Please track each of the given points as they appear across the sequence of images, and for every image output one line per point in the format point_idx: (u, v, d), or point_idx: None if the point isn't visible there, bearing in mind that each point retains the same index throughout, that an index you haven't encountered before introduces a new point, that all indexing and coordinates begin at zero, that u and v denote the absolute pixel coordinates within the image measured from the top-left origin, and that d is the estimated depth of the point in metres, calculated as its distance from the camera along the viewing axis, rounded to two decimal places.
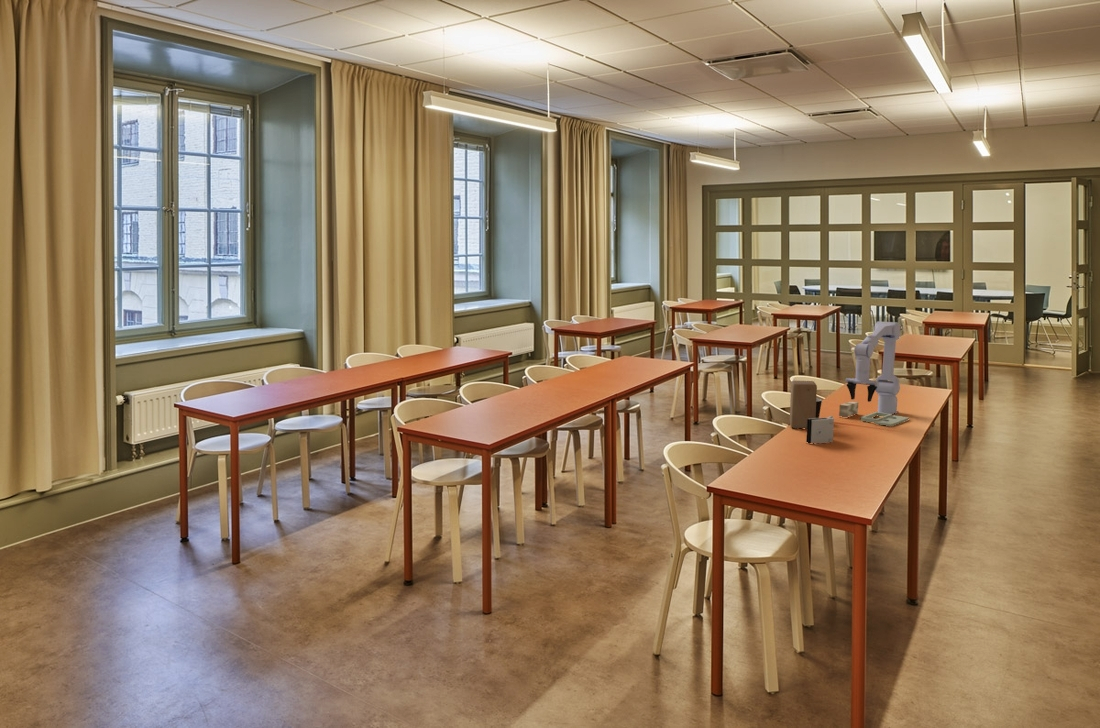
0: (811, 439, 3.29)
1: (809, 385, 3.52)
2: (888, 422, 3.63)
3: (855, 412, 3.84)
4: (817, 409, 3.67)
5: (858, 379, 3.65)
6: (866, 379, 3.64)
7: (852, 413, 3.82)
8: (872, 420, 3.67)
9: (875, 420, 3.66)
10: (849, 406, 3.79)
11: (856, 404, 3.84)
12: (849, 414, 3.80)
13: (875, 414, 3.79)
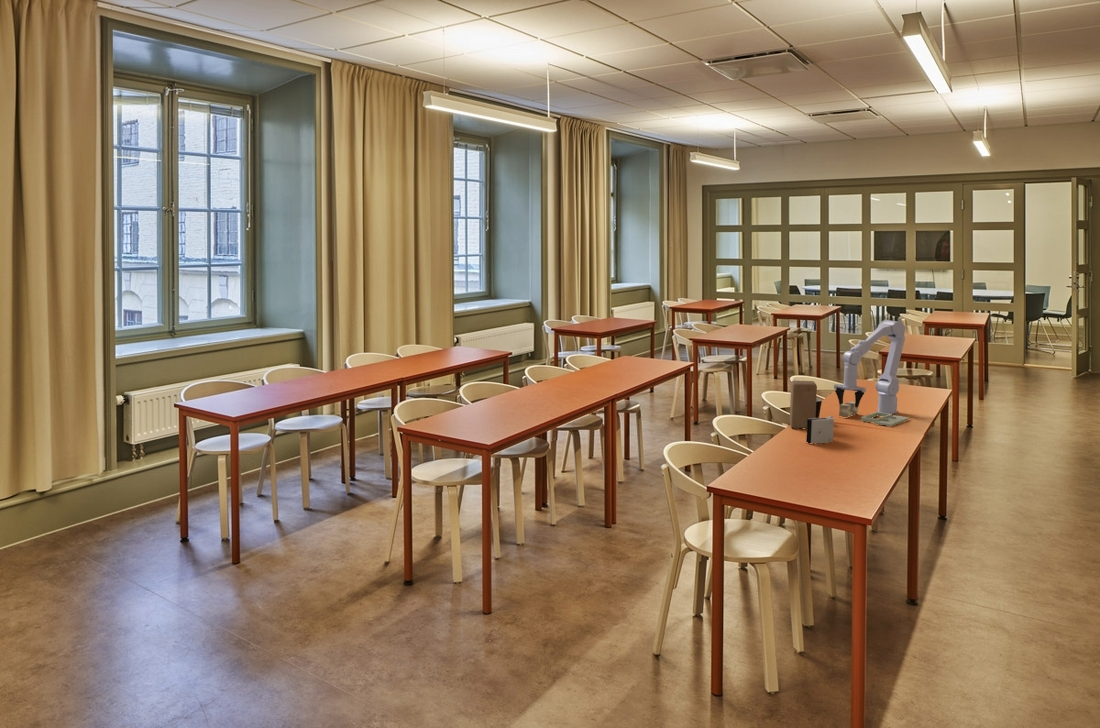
0: (811, 439, 3.29)
1: (809, 385, 3.52)
2: (888, 422, 3.63)
3: (855, 412, 3.84)
4: (817, 409, 3.67)
5: (846, 385, 3.79)
6: (854, 385, 3.78)
7: (852, 413, 3.82)
8: (872, 420, 3.67)
9: (875, 420, 3.66)
10: (849, 406, 3.79)
11: None
12: (849, 414, 3.80)
13: (875, 414, 3.79)
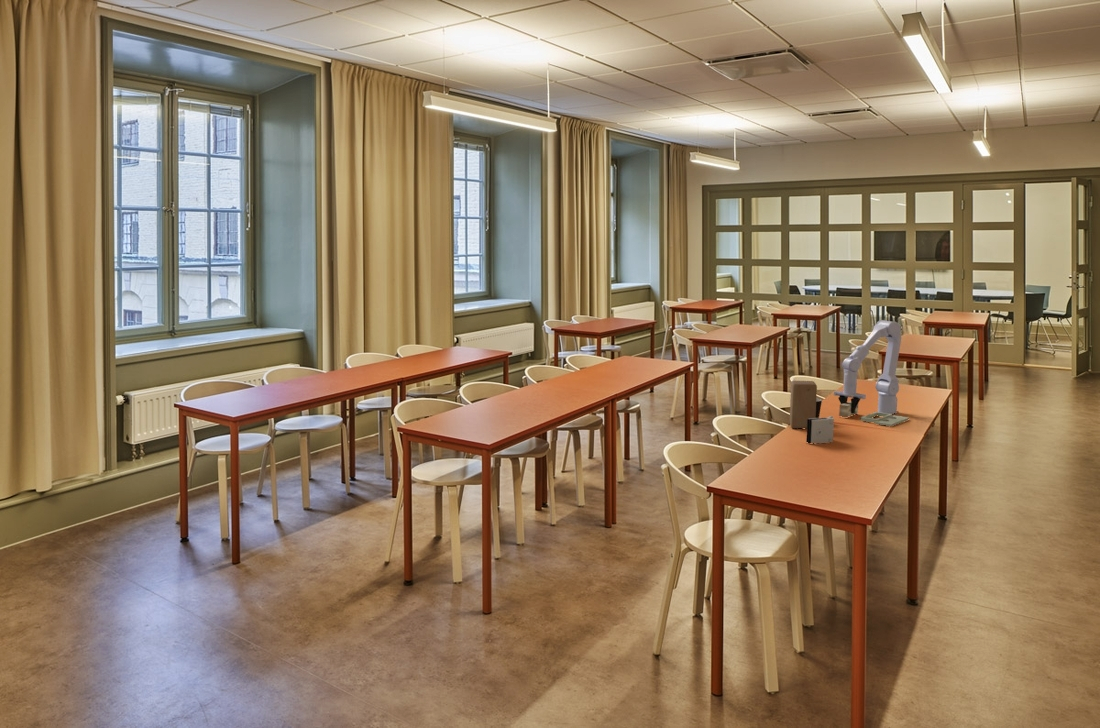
0: (811, 439, 3.29)
1: (809, 385, 3.52)
2: (888, 422, 3.63)
3: (855, 412, 3.84)
4: (817, 409, 3.67)
5: (846, 392, 3.80)
6: (853, 392, 3.79)
7: (852, 413, 3.82)
8: (872, 420, 3.67)
9: (875, 420, 3.66)
10: (849, 406, 3.79)
11: None
12: (849, 414, 3.80)
13: (875, 414, 3.79)
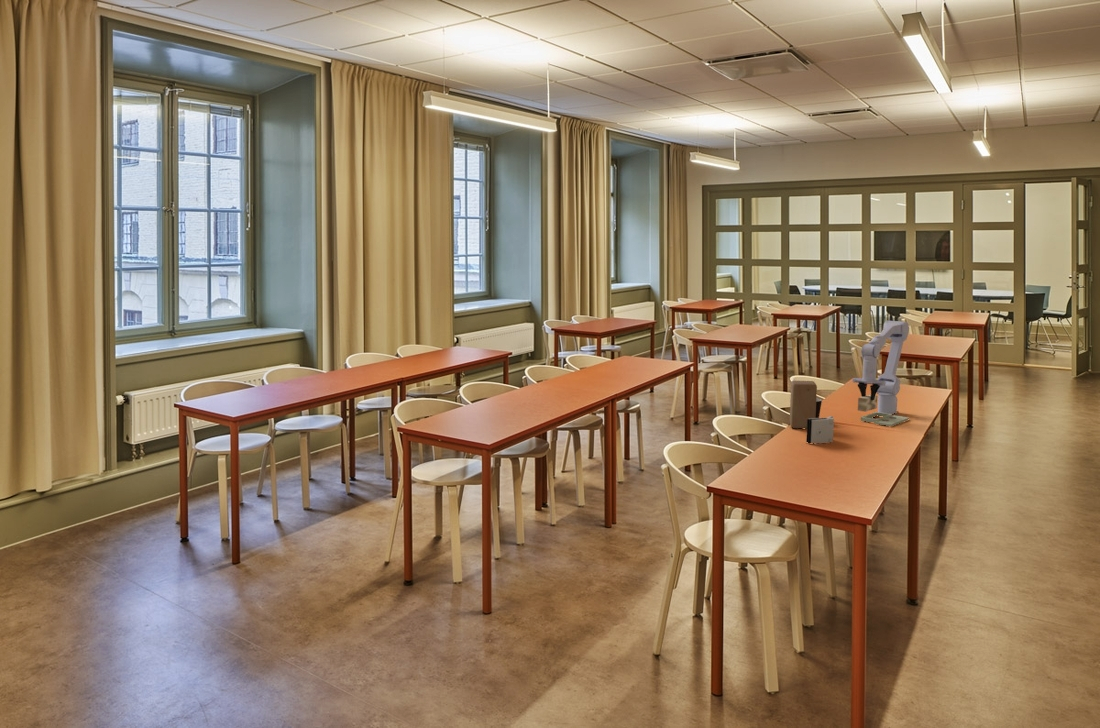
0: (811, 439, 3.29)
1: (809, 385, 3.52)
2: (888, 422, 3.63)
3: (874, 405, 3.77)
4: (817, 409, 3.67)
5: (865, 379, 3.73)
6: (873, 379, 3.72)
7: (871, 406, 3.75)
8: (872, 420, 3.67)
9: (875, 420, 3.66)
10: (868, 399, 3.72)
11: (875, 397, 3.77)
12: (868, 407, 3.73)
13: (875, 414, 3.79)
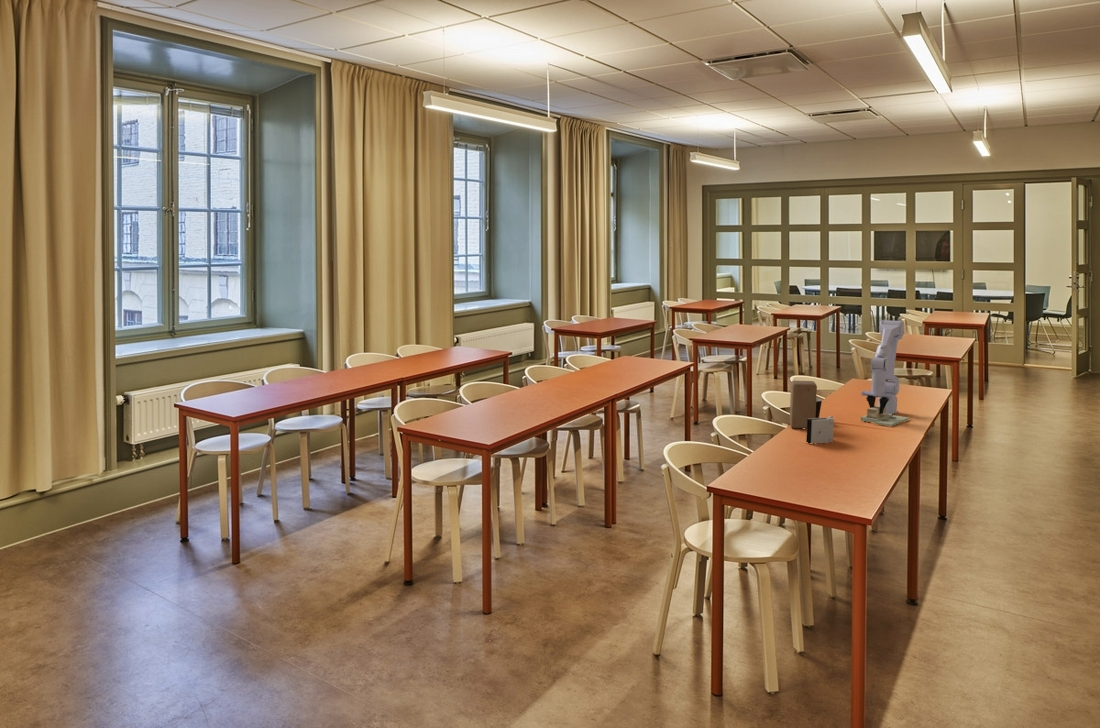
0: (811, 439, 3.29)
1: (809, 385, 3.52)
2: (888, 422, 3.63)
3: None
4: (817, 409, 3.67)
5: (874, 392, 3.70)
6: (882, 392, 3.69)
7: None
8: (872, 420, 3.67)
9: (875, 420, 3.66)
10: (877, 410, 3.69)
11: (884, 408, 3.75)
12: None
13: None
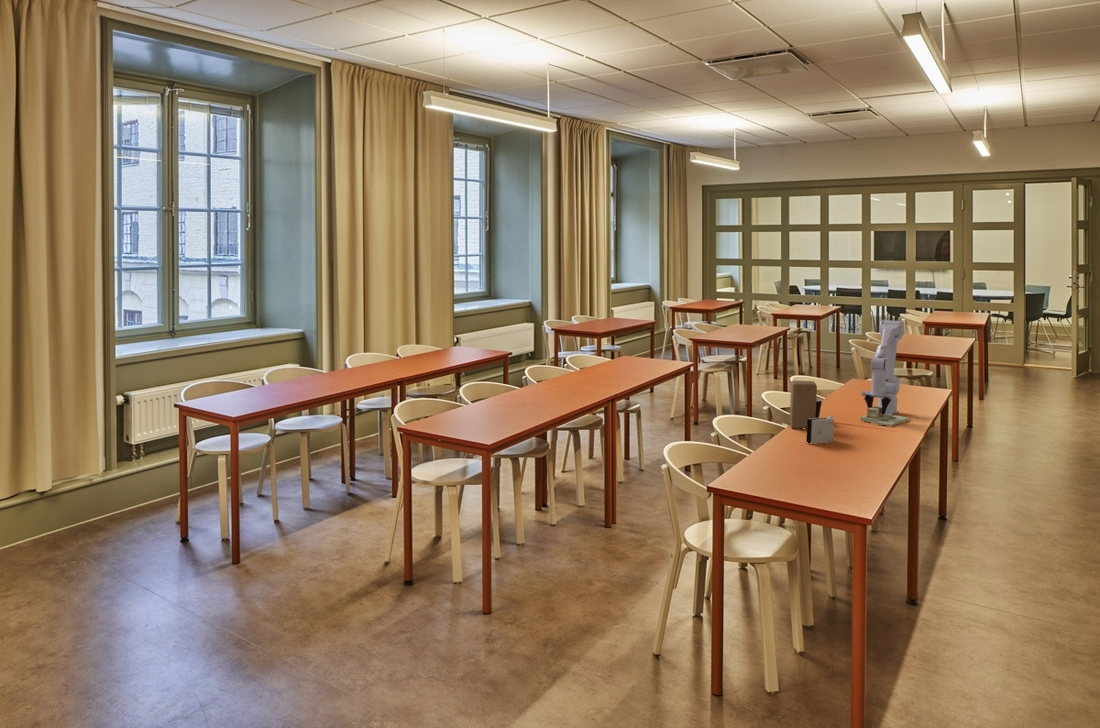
0: (811, 439, 3.29)
1: (809, 385, 3.52)
2: (888, 422, 3.63)
3: None
4: (817, 409, 3.67)
5: (874, 392, 3.70)
6: (882, 392, 3.69)
7: None
8: (872, 420, 3.67)
9: (875, 420, 3.66)
10: (877, 410, 3.69)
11: None
12: None
13: None
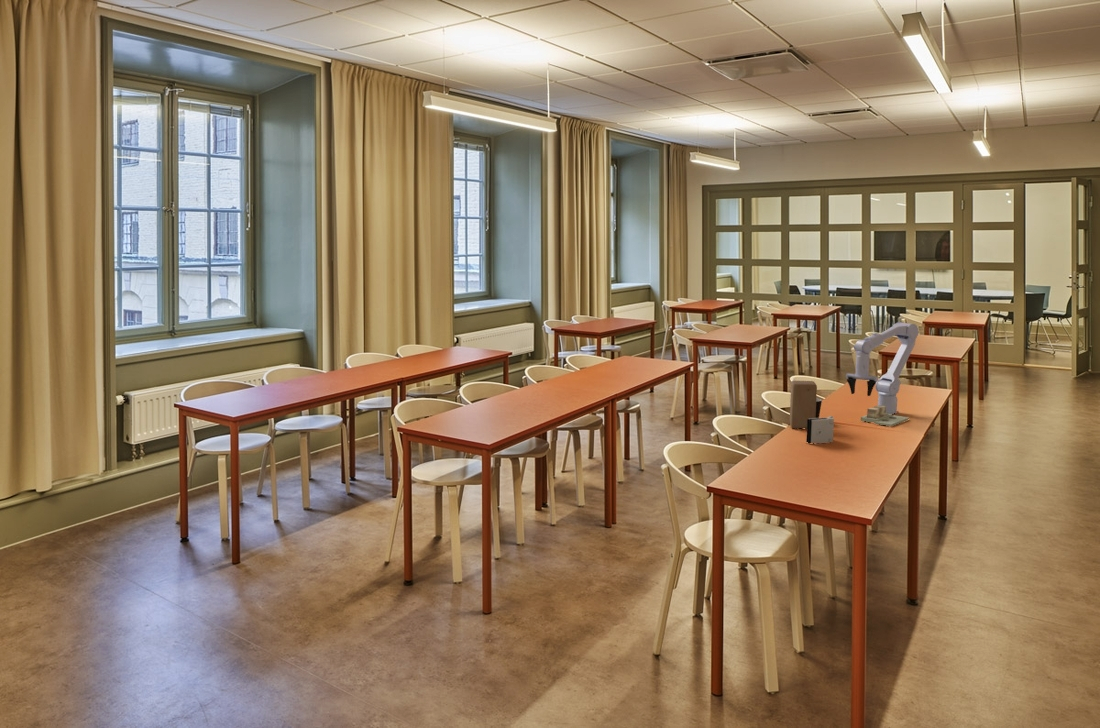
0: (811, 439, 3.29)
1: (809, 385, 3.52)
2: (888, 422, 3.63)
3: None
4: (817, 409, 3.67)
5: (858, 374, 3.79)
6: (866, 374, 3.78)
7: None
8: (872, 420, 3.67)
9: (875, 420, 3.66)
10: (877, 410, 3.69)
11: (884, 408, 3.75)
12: None
13: None
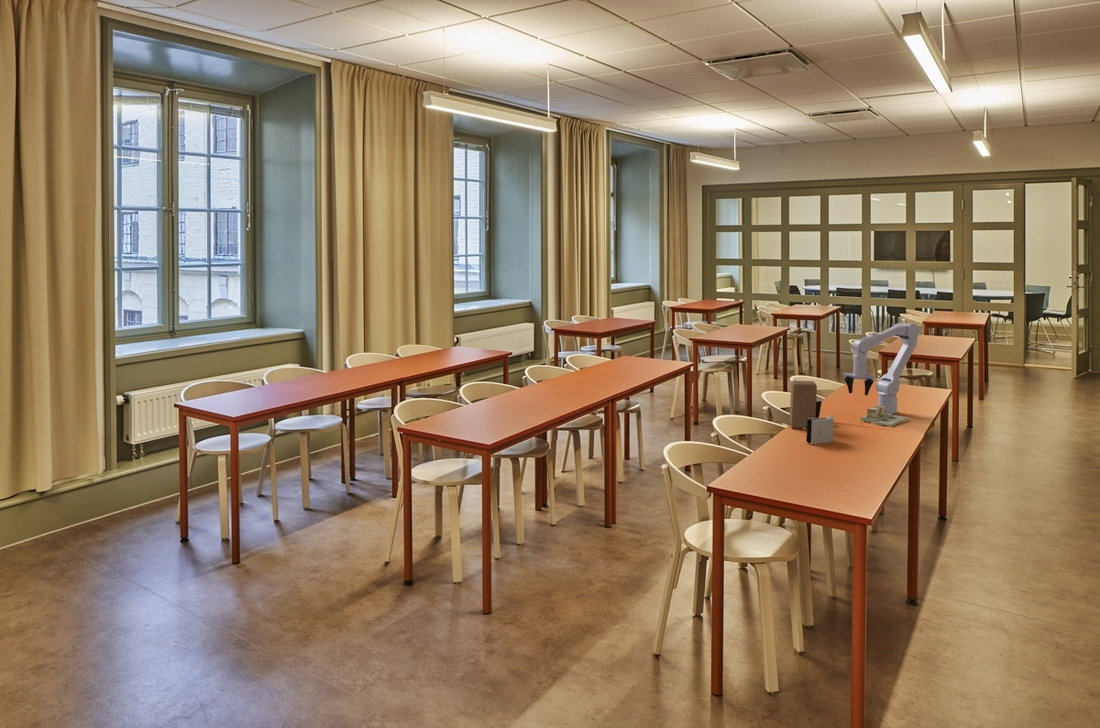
0: (811, 439, 3.29)
1: (809, 385, 3.52)
2: (888, 422, 3.63)
3: None
4: (817, 409, 3.67)
5: (855, 374, 3.81)
6: (863, 374, 3.80)
7: None
8: (872, 420, 3.67)
9: (875, 420, 3.66)
10: (877, 410, 3.69)
11: (884, 408, 3.75)
12: None
13: None
